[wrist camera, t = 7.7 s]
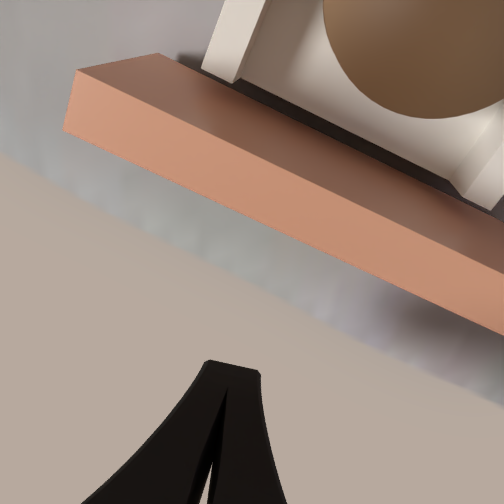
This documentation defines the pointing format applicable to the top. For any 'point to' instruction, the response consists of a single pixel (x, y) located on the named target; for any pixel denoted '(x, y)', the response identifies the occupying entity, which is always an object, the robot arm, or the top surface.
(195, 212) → the top surface
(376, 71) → the walnut puck
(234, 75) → the drawer
